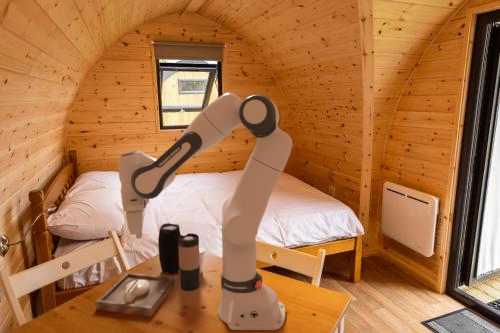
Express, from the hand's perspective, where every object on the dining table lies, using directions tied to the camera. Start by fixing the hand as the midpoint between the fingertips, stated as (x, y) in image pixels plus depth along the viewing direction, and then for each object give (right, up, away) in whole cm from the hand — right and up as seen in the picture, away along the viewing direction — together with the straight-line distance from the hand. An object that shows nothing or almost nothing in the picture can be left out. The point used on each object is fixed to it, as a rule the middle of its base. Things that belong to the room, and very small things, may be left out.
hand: (139, 236), depth 118 cm
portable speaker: (+6, -19, +24) cm, 31 cm away
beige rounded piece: (-2, -21, +3) cm, 21 cm away
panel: (-2, -23, +5) cm, 23 cm away
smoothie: (+17, -19, +23) cm, 34 cm away
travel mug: (+16, -22, +12) cm, 29 cm away
